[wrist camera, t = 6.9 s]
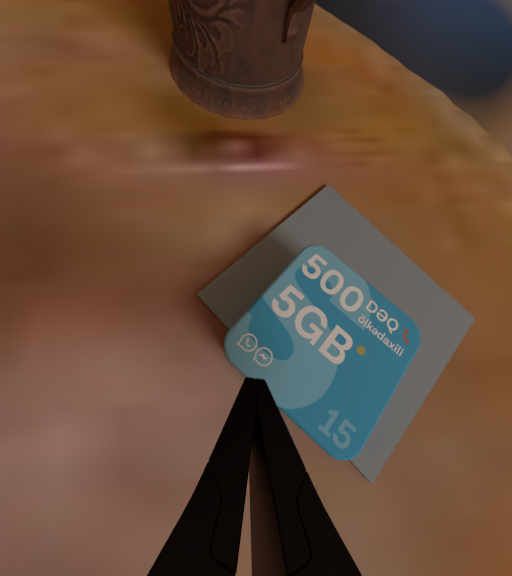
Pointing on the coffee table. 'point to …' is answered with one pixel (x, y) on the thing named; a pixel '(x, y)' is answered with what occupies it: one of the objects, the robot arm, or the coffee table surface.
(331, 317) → the data package
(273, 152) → the coffee table surface
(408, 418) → the slate rubber mat
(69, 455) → the coffee table surface
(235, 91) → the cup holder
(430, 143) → the coffee table surface
